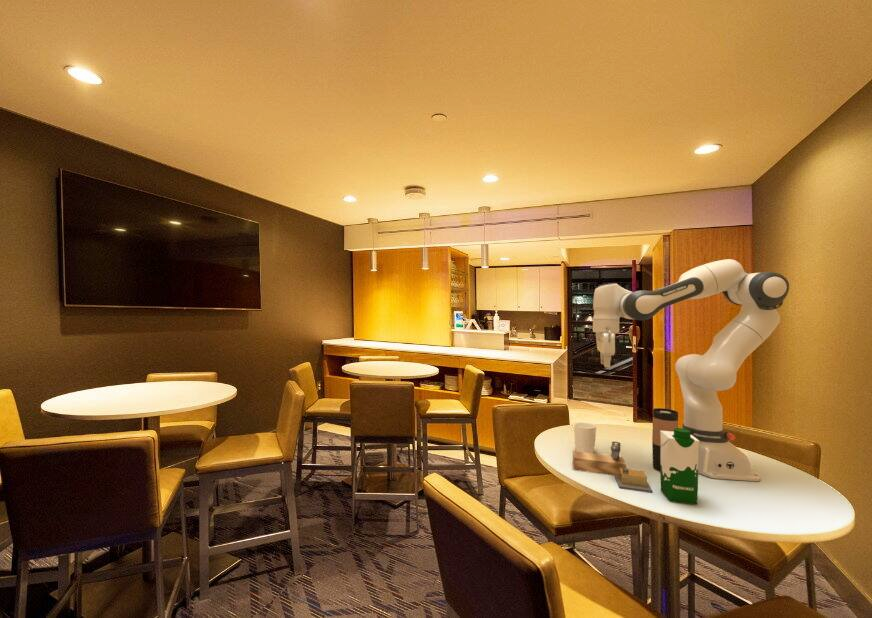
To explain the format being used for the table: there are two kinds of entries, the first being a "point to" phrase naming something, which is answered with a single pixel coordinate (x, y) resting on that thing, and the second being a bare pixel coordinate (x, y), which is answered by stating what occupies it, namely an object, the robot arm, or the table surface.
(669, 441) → the milk carton
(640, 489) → the rubber mat
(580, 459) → the plane body
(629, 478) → the gold block with knob
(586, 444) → the white cup
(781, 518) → the table surface
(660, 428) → the travel mug
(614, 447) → the lever
